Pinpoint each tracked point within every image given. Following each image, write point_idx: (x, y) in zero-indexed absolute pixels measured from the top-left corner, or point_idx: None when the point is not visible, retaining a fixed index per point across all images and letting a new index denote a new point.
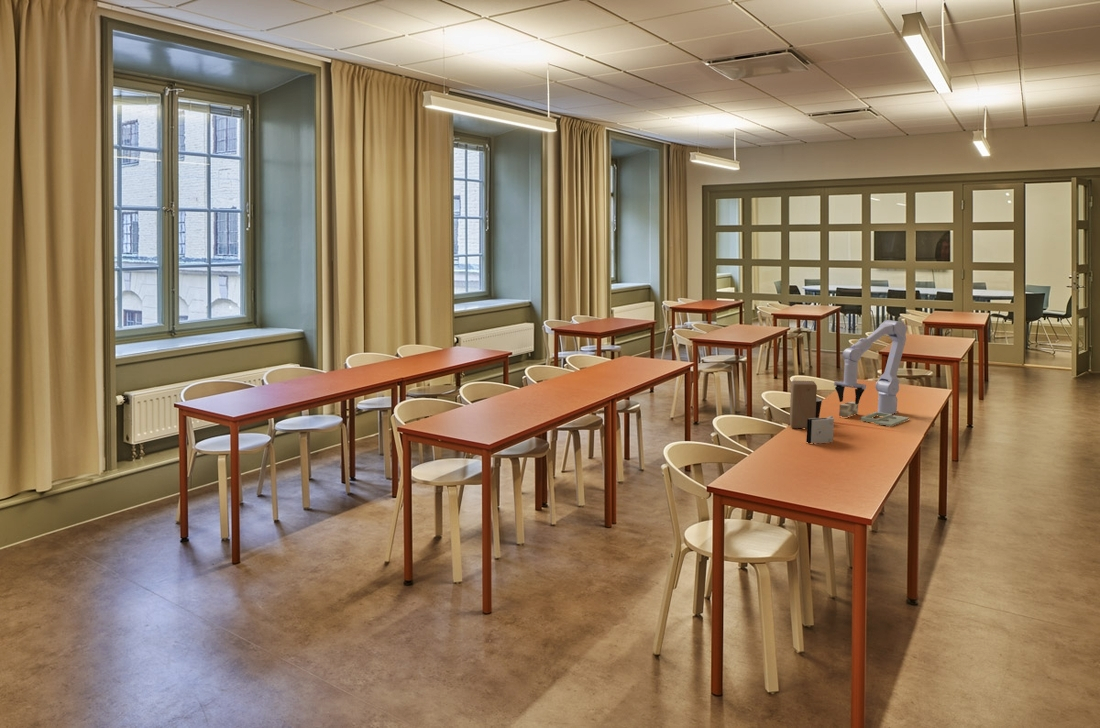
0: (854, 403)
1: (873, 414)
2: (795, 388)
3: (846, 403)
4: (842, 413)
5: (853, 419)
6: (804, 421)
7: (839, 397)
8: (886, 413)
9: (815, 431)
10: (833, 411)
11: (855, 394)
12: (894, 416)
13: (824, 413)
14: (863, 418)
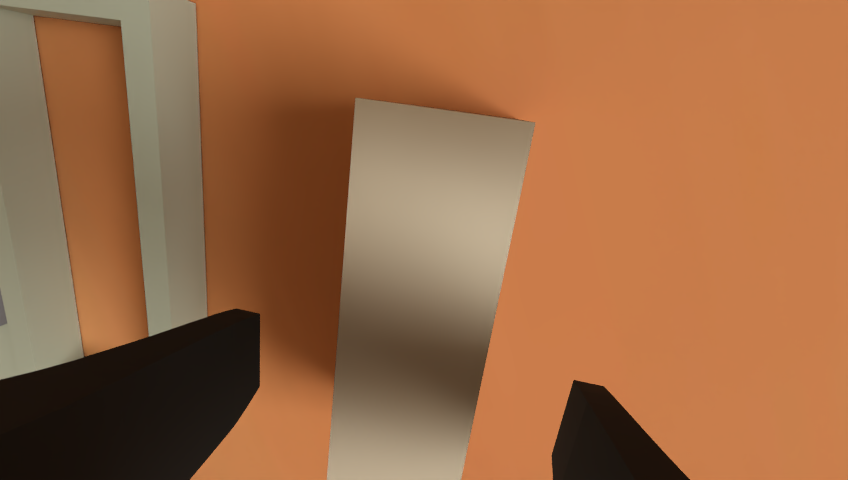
0: (332, 422)
1: (154, 316)
2: None
3: (451, 360)
4: (466, 112)
5: (314, 89)
6: None
7: (643, 448)
8: None
9: None
10: (670, 441)
11: (24, 419)
12: (15, 368)
13: (773, 266)
14: None
